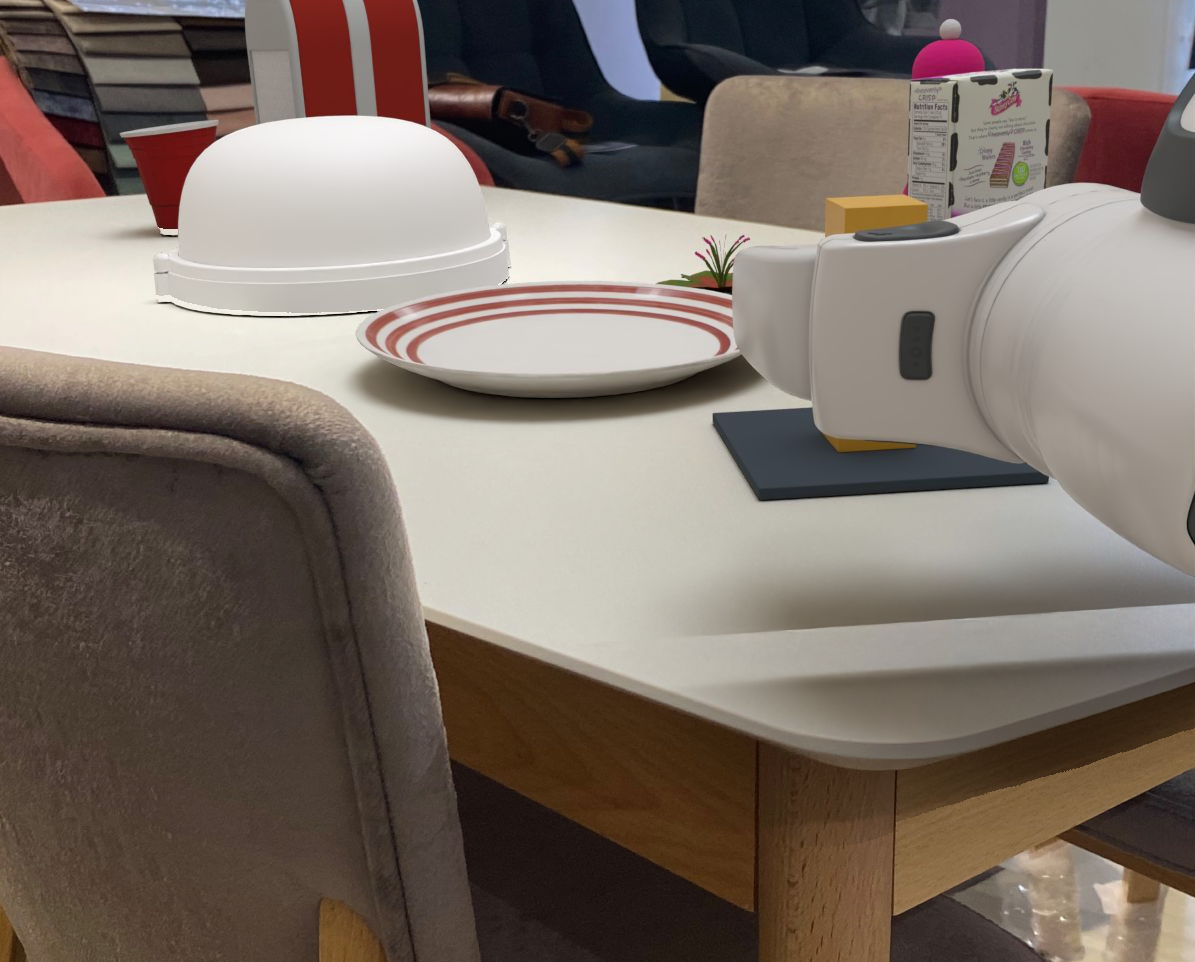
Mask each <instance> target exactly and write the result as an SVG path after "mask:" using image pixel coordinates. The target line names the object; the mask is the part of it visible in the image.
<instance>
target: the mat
mask: <svg viewBox="0 0 1195 962" xmlns="http://www.w3.org/2000/svg"><path fill="white" fill-rule="evenodd" d="M712 424H713V425H714V427H715V429H716V431H717V432H718V434H719V435H720V437H721V439H722V440H723V442H724V444H725V446H726V447H727V449H728V450H729V452H730V454H731V456H732V457H733V458H734V460H735V462H736V464H737V465H738V467H739V469H740V471H741V472H742V473H743V476H744V477H745V479H746V481H747V482H748V484H749V485H750V488H751V489H752V490H753V492H754V494H755V496H756V497H757V498H758V500H759V501H767V500H769V501H770V500H783V499H800V498H803V499H804V498H817V497H819V498H820V497H834V496H836V497H837V496H849V495H852V496H853V495H865V494H869V495H870V494H883V493H885V494H886V493H899V492H916V491H918V492H919V491H932V490H933V491H935V490H949V489H965V488H967V489H968V488H980V487H981V488H982V487H995V486H997V487H1000V486H1014V485H1015V486H1017V485H1030V484H1031V485H1032V484H1033V485H1034V484H1048V483H1049V482H1050V477H1049V476H1047V475H1045V474H1043V473H1041V472H1040V471H1038V470H1036V469H1035V468H1033V467H1032V466H1030V465H1029V464H1027V463H1026V462H1024V463H1011V462H1007V461H1002V460H998V459H994V458H990V457H986V456H983V455H979V454H975V453H971V452H967V451H963V450H958V449H953V448H947V447H941V446H924V445H916V448H906V449H889V450H872V451H855V452H838V451H837V450H836V449H835V448H834V447H833V445H832V444H831V443H830V442H829V441H828V440H827V438H826V437H825V436H824V435H823V434H822V433H821V431H820V430H819V429H818V428H817V427H816V425H815V423H814V417H813V408H812V406H811V407H794V408H779V409H778V408H775V409H759V410H741V411H740V410H739V411H722V412H713V413H712Z"/></svg>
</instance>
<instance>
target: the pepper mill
mask: <svg viewBox="0 0 1195 962" xmlns="http://www.w3.org/2000/svg"><path fill="white" fill-rule="evenodd" d="M961 33H962V25H961V23H960V22H959V21H958V20H957V19H954V18H949V19H946V20H944V21H943V22H942V23H941V25H940V27H939V36H940V38H941V39H940V40H936V41H933V42H930V43H928V44H927V45H926V46H925V47H923V48H922V49H921V50H920V51H919V53H918V54H917V56H916V57H915V58H914V61H913V65H912V68H911V69H912V70H911V79H919V78H928V77H937V76H946V75H954V74H963V73H973V72H983V71H986V68H985V60H984V57H983V54H982V53H981V51H980V49H978V47H977V46H976V45H975V44H973V43H971V42H970V41H967V40H965V39H959V37H960V36H961ZM907 183H908V181H907V182H906V184H905V186H904V189H903V191H902V194H904V195H906V196H907Z"/></svg>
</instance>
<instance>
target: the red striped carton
mask: <svg viewBox="0 0 1195 962" xmlns="http://www.w3.org/2000/svg"><path fill="white" fill-rule="evenodd" d="M244 29H245V30H244V31H245V42H246V51H247V52H246V53H247V58H248V59H247V60H248V66H249V68H248V69H249V77H250V83H251V93H252V101H253V108H254V109H253V110H254V118H255V125H258V124H263V123H267V122H273V121H280V120H287V119H296V118H308V117H323V116H375V117H386V118H394V119H400V120H405V121H409V122H413V123H417V124H420V125H423V126H425V127H428V128H430V129H432V126H431V125H432V124H431V113H430V99H429V85H428V75H427V72H428V71H427V60H426V47H425V35H424V27H423V19H422V15H421V10H420V6H419V3H418V0H245V7H244Z"/></svg>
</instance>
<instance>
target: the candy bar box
mask: <svg viewBox="0 0 1195 962" xmlns="http://www.w3.org/2000/svg"><path fill="white" fill-rule="evenodd" d="M1053 80H1054V69H1050V68H1008V69H996V70H985V71H983V72H973V73H963V74H954V75H946V76H937V77H928V78H919V79H912V78H911V79H910V80H909V95H908V97H909V101H908V109H909V110H908V138H907V139H908V140H907V182H908V183H907V182H906V184H907V196H909V197H911V198H914V199H916V200H919V201H921V202H924V203H926V204H928V214H927V222H928V221H942V220H946V219H950V218H954V217H957V216H960V215H963V214H967V213H970V212H973V211H976V210H979V209H982V208H985V207H988V206H992V205H995V204H999V203H1004V202H1009V201H1017V200H1019V199H1021V198H1023V197H1025V196H1027V195H1029V194H1032V193H1034V192H1037V191H1039V190H1043V189H1046V188H1047V174H1048V161H1049V145H1050V127H1051V113H1052V99H1053V83H1054V81H1053Z"/></svg>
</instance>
